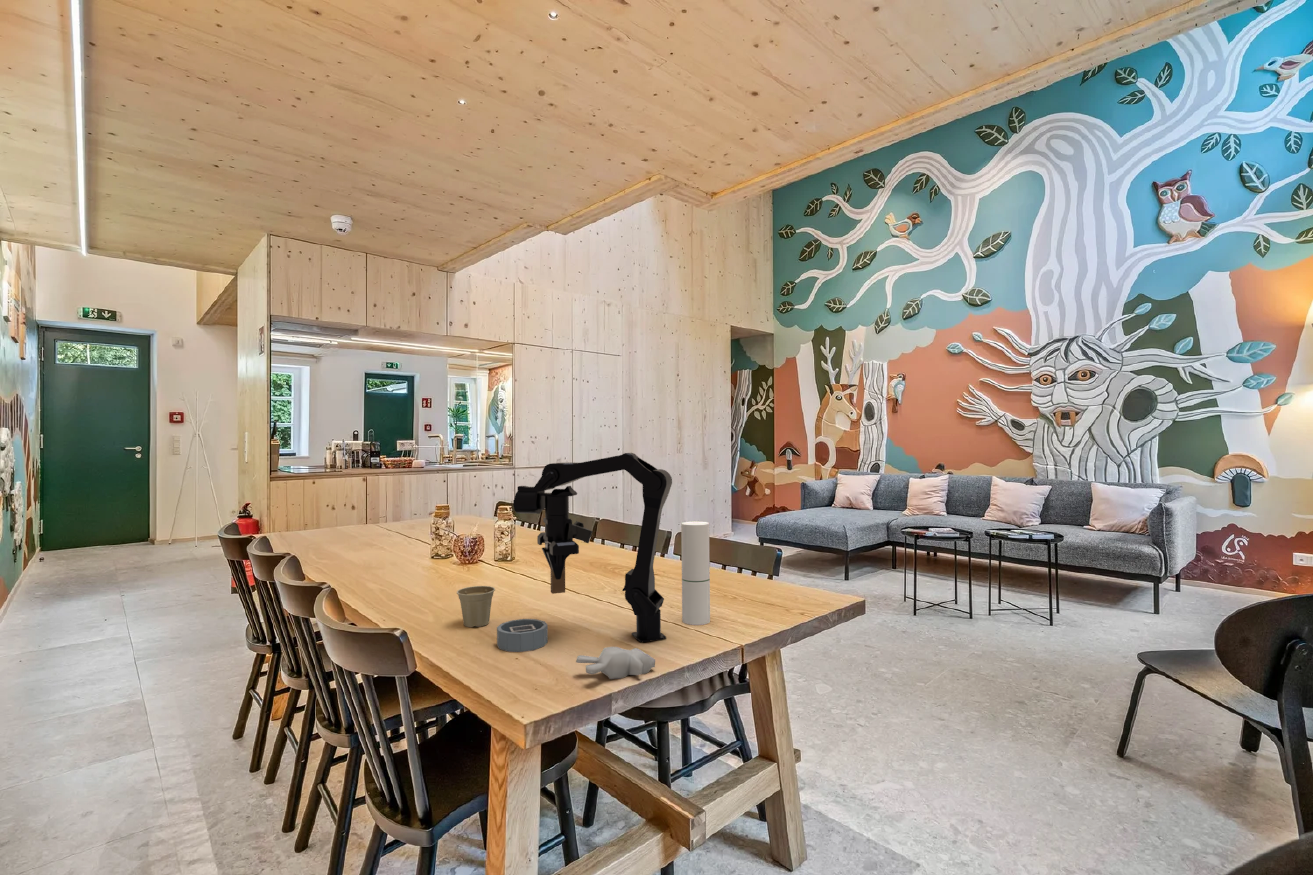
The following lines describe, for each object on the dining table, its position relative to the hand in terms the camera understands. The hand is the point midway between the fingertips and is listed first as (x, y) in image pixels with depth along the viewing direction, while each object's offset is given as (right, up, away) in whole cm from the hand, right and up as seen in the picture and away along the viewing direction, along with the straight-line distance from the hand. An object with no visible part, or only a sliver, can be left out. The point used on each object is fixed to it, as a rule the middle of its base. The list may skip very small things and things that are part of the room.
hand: (557, 578), depth 148 cm
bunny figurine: (+16, -13, -28) cm, 35 cm away
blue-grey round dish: (-7, -13, -9) cm, 17 cm away
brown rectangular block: (0, -3, 0) cm, 3 cm away
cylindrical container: (+34, -13, +8) cm, 37 cm away
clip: (-7, -13, -9) cm, 17 cm away
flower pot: (-22, -13, +7) cm, 26 cm away
